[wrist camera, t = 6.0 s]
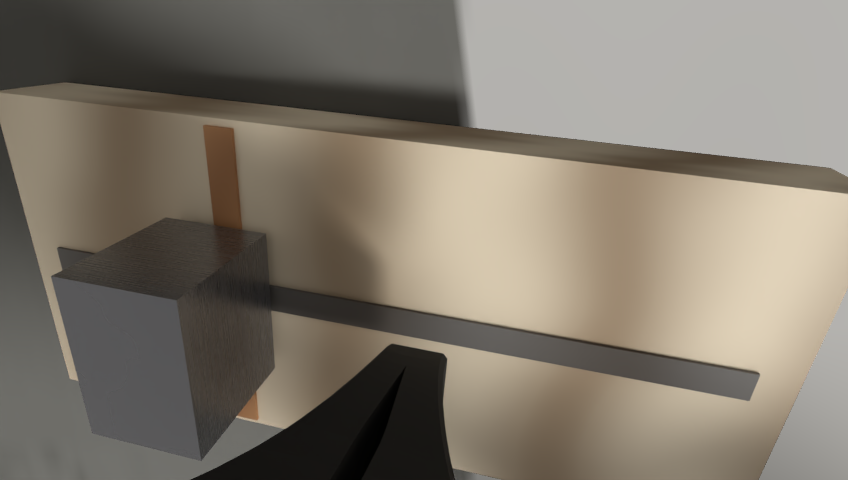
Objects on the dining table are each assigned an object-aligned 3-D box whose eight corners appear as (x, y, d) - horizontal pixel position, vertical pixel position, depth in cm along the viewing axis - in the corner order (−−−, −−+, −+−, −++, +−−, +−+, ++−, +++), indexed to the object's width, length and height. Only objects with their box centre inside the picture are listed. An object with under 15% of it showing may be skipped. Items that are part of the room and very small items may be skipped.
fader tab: (265, 233, 13) (176, 300, 10) (275, 368, 15) (200, 460, 12) (165, 217, 14) (51, 276, 11) (186, 349, 16) (92, 433, 13)
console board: (830, 167, 12) (892, 200, 10) (709, 466, 16) (734, 536, 14) (65, 82, 16) (-13, 91, 14) (120, 341, 20) (67, 380, 18)
